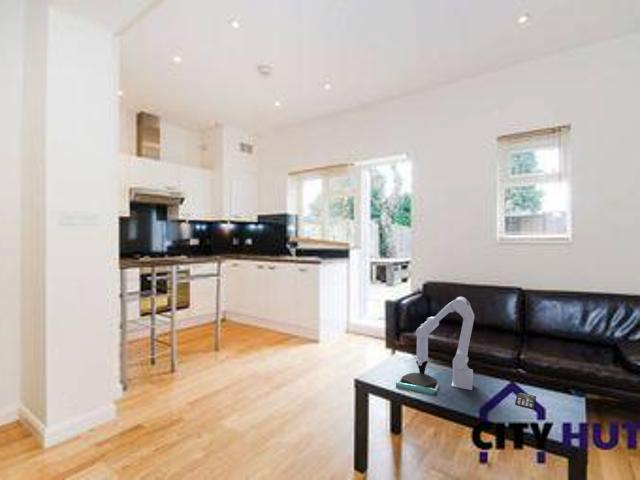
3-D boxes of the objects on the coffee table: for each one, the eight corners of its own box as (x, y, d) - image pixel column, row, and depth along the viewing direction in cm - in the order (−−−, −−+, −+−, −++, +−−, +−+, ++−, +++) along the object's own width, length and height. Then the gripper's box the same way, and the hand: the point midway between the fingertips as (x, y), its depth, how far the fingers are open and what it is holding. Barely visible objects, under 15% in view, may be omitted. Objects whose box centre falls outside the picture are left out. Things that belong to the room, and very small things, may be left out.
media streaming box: (398, 382, 178) (398, 376, 178) (418, 375, 186) (418, 370, 186) (420, 392, 165) (420, 386, 165) (440, 385, 173) (440, 379, 173)
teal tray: (438, 387, 172) (438, 382, 172) (435, 395, 163) (435, 390, 163) (400, 379, 180) (400, 375, 180) (395, 387, 171) (395, 382, 171)
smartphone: (536, 395, 162) (534, 408, 149) (536, 397, 162) (534, 410, 149) (517, 391, 166) (514, 404, 154) (517, 393, 166) (514, 405, 154)
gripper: (417, 344, 192) (417, 368, 192) (411, 352, 179) (411, 378, 179) (430, 346, 188) (430, 370, 189) (425, 354, 175) (425, 380, 176)
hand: (422, 374), depth 184 cm, fingers closed, pressing on media streaming box
